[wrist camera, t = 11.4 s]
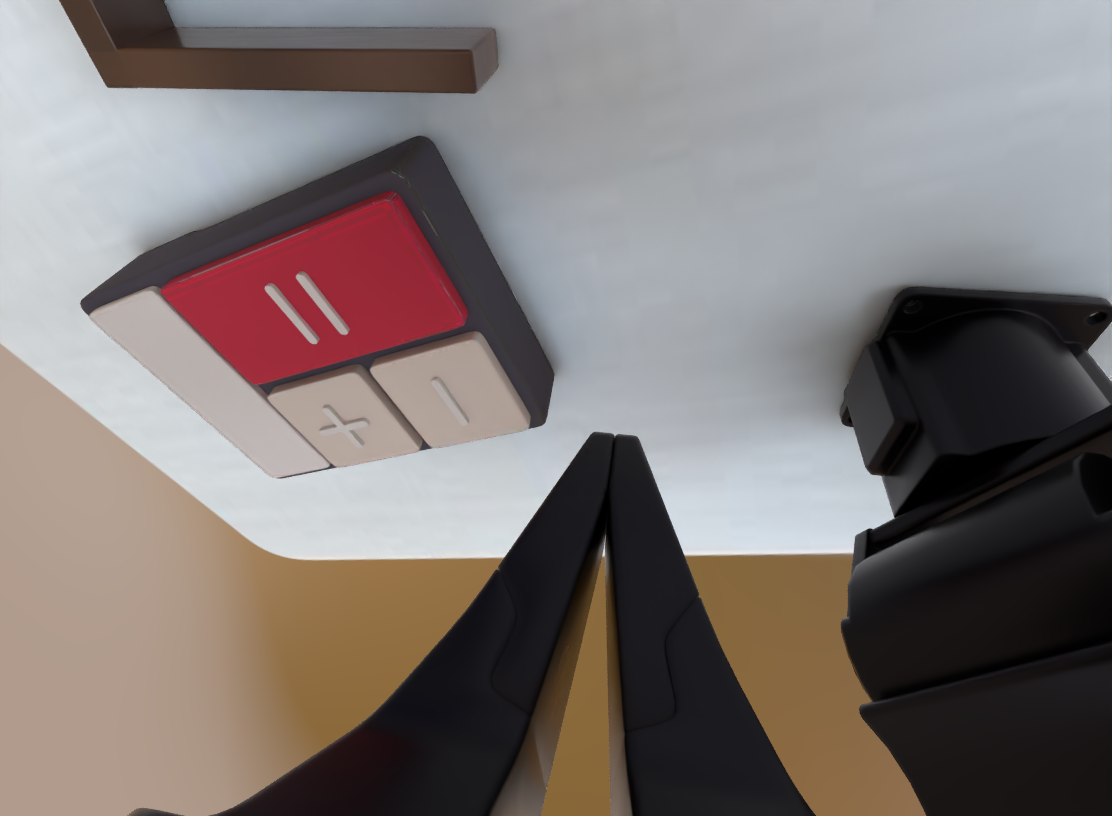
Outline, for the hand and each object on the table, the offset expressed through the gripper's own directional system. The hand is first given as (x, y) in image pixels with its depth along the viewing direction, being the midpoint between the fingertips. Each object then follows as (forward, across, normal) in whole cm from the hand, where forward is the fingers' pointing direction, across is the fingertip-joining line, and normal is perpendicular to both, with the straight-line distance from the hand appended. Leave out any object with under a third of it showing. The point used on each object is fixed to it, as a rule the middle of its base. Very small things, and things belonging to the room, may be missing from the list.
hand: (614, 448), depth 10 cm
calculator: (+11, +12, +6) cm, 17 cm away
